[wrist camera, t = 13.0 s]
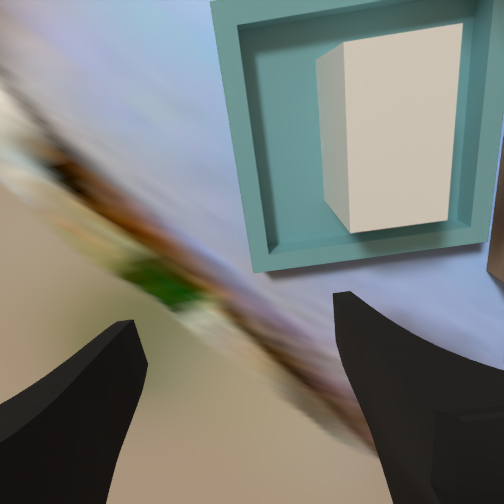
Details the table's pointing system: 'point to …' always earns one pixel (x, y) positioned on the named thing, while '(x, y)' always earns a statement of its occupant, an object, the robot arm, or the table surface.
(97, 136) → the table surface
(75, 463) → the robot arm
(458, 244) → the tray
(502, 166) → the bay
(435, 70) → the cream rectangular block
